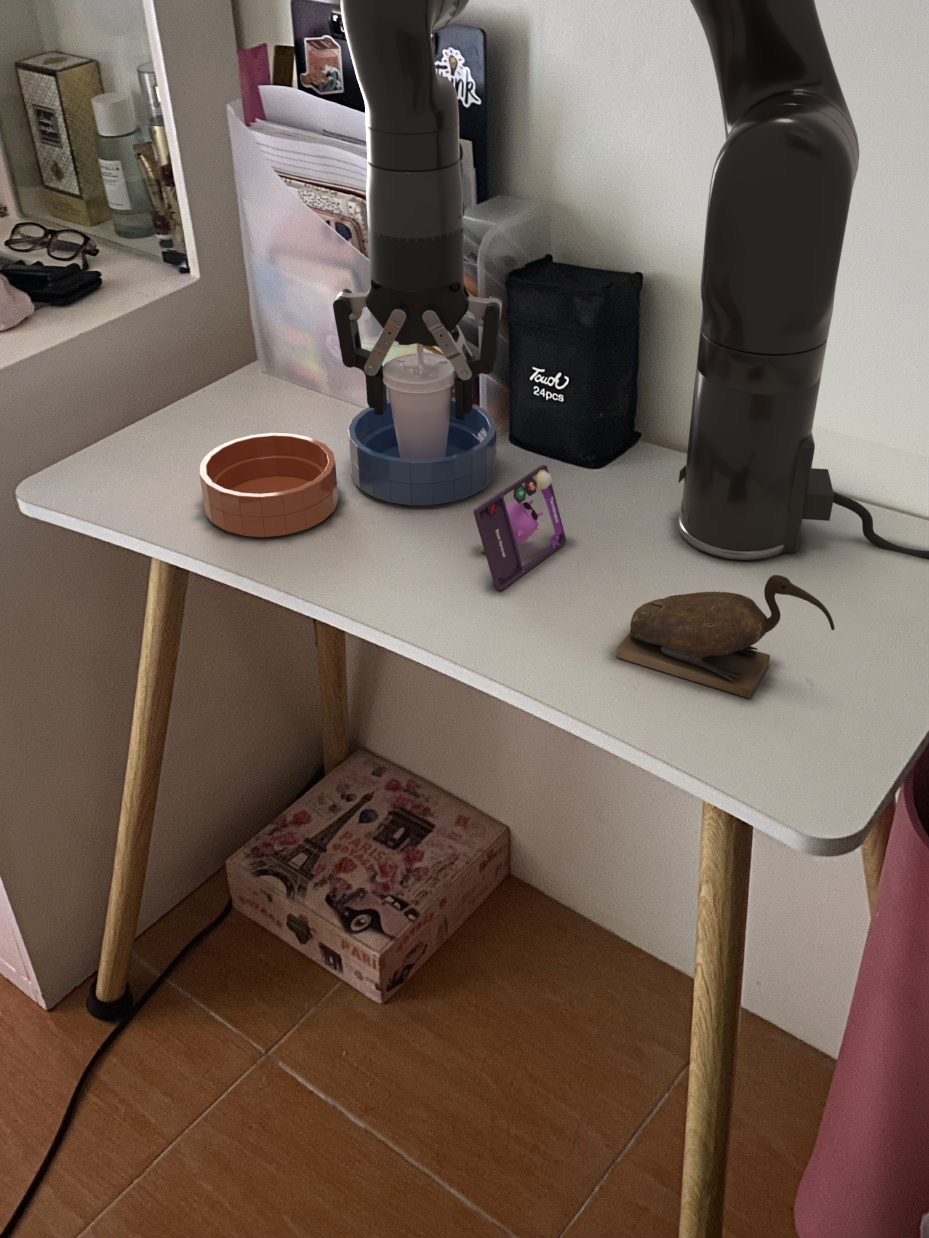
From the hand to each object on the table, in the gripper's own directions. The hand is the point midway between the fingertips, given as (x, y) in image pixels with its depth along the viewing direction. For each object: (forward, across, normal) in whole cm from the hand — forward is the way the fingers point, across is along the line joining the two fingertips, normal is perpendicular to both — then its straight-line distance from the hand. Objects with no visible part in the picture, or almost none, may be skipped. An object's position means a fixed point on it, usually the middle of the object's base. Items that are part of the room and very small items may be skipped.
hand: (421, 412), depth 105 cm
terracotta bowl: (+6, -12, -7) cm, 15 cm away
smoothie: (+6, 0, 0) cm, 6 cm away
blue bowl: (+6, 0, 0) cm, 6 cm away
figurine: (+6, +25, -26) cm, 36 cm away
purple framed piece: (+6, +9, -13) cm, 17 cm away
